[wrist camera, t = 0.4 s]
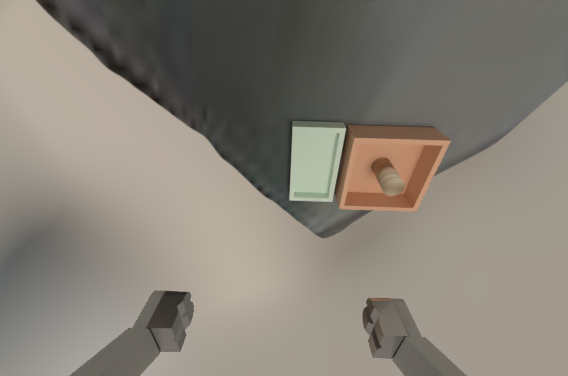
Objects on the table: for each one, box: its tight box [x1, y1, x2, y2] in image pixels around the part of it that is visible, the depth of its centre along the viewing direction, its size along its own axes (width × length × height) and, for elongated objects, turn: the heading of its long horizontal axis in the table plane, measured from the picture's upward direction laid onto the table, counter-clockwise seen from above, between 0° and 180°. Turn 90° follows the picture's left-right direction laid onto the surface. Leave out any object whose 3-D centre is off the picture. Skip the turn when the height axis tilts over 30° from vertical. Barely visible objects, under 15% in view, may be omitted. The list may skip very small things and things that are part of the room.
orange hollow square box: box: [335, 125, 451, 212], centre depth 48 cm, size 17×17×6 cm
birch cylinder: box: [371, 158, 405, 196], centre depth 47 cm, size 4×4×8 cm
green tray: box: [290, 121, 346, 202], centre depth 50 cm, size 18×10×3 cm, turn 179°
